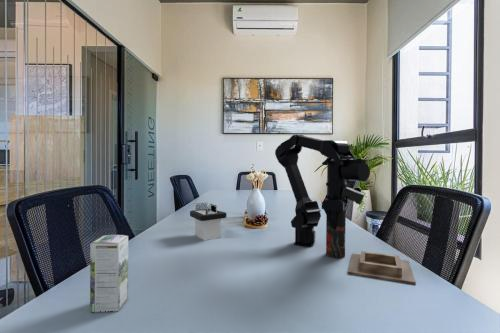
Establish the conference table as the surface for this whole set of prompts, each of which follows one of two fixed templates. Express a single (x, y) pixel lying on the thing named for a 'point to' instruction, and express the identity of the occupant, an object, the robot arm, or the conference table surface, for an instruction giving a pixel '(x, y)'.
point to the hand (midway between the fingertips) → (335, 227)
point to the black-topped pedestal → (207, 221)
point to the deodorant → (336, 237)
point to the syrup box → (108, 273)
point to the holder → (381, 267)
